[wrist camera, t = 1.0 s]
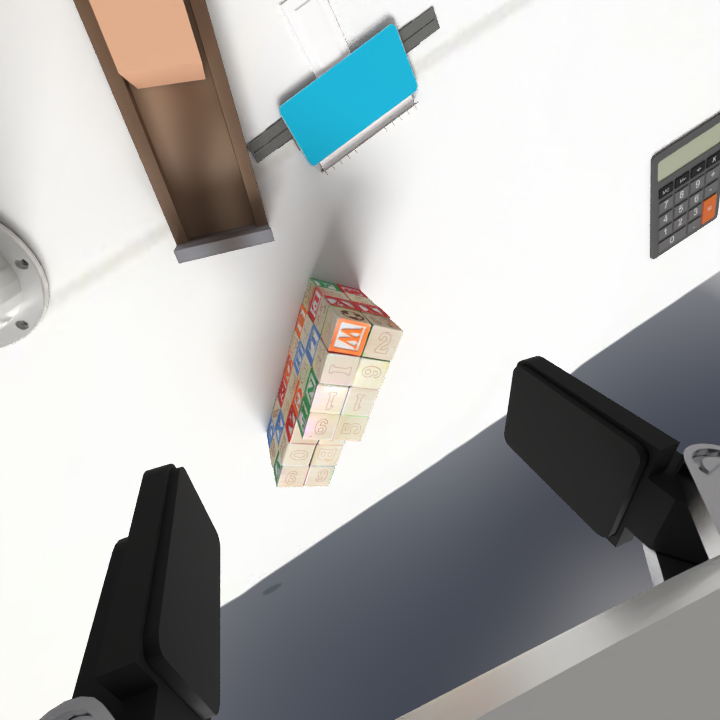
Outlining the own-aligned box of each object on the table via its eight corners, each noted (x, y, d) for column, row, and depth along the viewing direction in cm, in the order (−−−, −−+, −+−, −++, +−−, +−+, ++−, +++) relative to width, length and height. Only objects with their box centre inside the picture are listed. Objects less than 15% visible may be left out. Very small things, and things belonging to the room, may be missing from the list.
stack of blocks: (311, 436, 49) (334, 508, 39) (265, 433, 47) (277, 510, 36) (360, 288, 41) (405, 331, 31) (308, 275, 39) (339, 317, 29)
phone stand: (399, -83, 28) (408, -95, 27) (453, 83, 35) (462, 80, 33) (195, 71, 29) (194, 66, 27) (286, 206, 35) (289, 208, 34)
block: (137, 88, 27) (118, 73, 22) (102, -2, 24) (71, -43, 19) (205, 79, 28) (201, 62, 23) (178, -10, 25) (167, -51, 20)
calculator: (654, 260, 53) (655, 157, 45) (647, 258, 54) (647, 158, 46) (718, 217, 54) (731, 107, 45) (711, 216, 54) (723, 108, 46)
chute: (184, 250, 34) (179, 263, 30) (73, -16, 24) (42, -52, 20) (268, 231, 35) (274, 240, 31) (195, -27, 26) (190, -62, 22)
